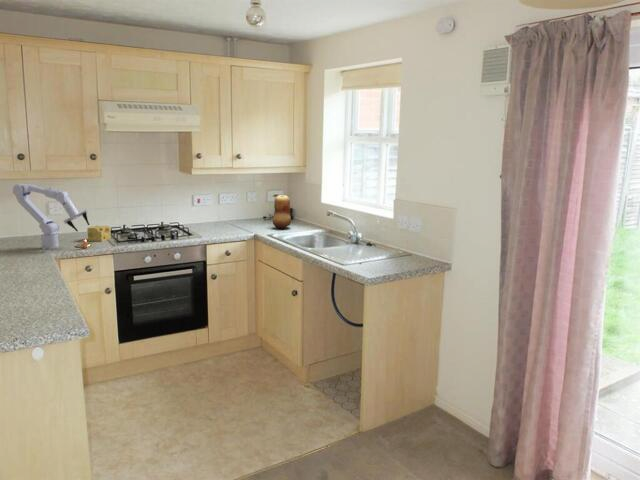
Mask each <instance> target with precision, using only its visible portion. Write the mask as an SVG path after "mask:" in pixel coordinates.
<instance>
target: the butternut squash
mask: <svg viewBox="0 0 640 480" xmlns="http://www.w3.org/2000/svg"><path fill="white" fill-rule="evenodd" d="M273 204H274V207H273V208H274V214H273V217H272V224H273V226H274V227H275V228H276V229H277V228H278V229H286V228H287V227H290V225H291V223H292V217H291V215H290V213H291V212H290V210H291V199H290V197H288V195H285V194H284V195H281V194H280V195H277V196H276V197H275V199H274V203H273Z"/></svg>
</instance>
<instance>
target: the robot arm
mask: <svg viewBox="0 0 640 480" xmlns="http://www.w3.org/2000/svg"><path fill="white" fill-rule="evenodd" d="M32 192H34V193H37V194H42V195H44V196H45V197H47V198H49V199H53V200H55V201H57V202H59V203H60V205H62V207H63V209H64V211H65V212H66V214H67V215H68V218H66V219H64V220H63V223H64V224H65V225H66V224H67V225H68V226H69V227H71V228H72V229H74V231H75V232H78V231H79V230H78V229H77V228H76V226H75V225H74V223H73V220H75V219H78V218H79V217H81V216H82V217H83V220H85V223H86V225H87V226H90V222H89V220H88V215H87V214H88V210H87V209H83V210H81V211H79V210H78V209H77V208H76V206H75V204H74V202H73V201H72V200H71V197H70V194H69V192H67V191H66V190H60V189H55V188H53V187H47V188H43V187H40V186H37V185H35V184H33V183H28V182H26V183H25V182H24V183H21V184H20V183H19V184H15V185H13V187H12V194H13V195H14V196H15V197H16V199H17V202H18V203H19V205H20V206H21V207H23V209H25V211H26V212H28V214H29V215H30V216H31V217H32V218H33V219H35V221H36V222H37V223H38V224H39V226H38V227H39V229H41V232H42V233H43V234H41V235H40V236H41V247H42V251H43V250H49V248H56V247H59V246H60V245H59V235H58V231H59V230H60V225H59V223H57V222H56V221H54V220H53V219H50V218H48V217H47V216H46V215H45V214H44V213H43V212H42V211H41V209H39V208H38V207H37V206H36V205H35V204H34V203H33V202H32V201H31V200H30V196H31V193H32Z"/></svg>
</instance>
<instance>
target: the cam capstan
mask: <svg viewBox="0 0 640 480" xmlns="http://www.w3.org/2000/svg"><path fill="white" fill-rule="evenodd" d="M92 244H93V243H92V242H88V240H87V238H82V242H80V243H76V244H75V246H76V248H82V249H83V250H86V249H88V248H89V247H92V246H93V245H92Z"/></svg>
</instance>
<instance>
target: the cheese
mask: <svg viewBox="0 0 640 480" xmlns="http://www.w3.org/2000/svg"><path fill="white" fill-rule="evenodd" d="M86 229H87V239H88V240H87V242H99V243H100V242H101V243H103V242H104V241H108V240H110V239H111V237H112V236H111V235H112V234H111V233H112V232H111V226H110V225H98V224H97V225H94V226H90V227H87V228H86Z"/></svg>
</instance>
